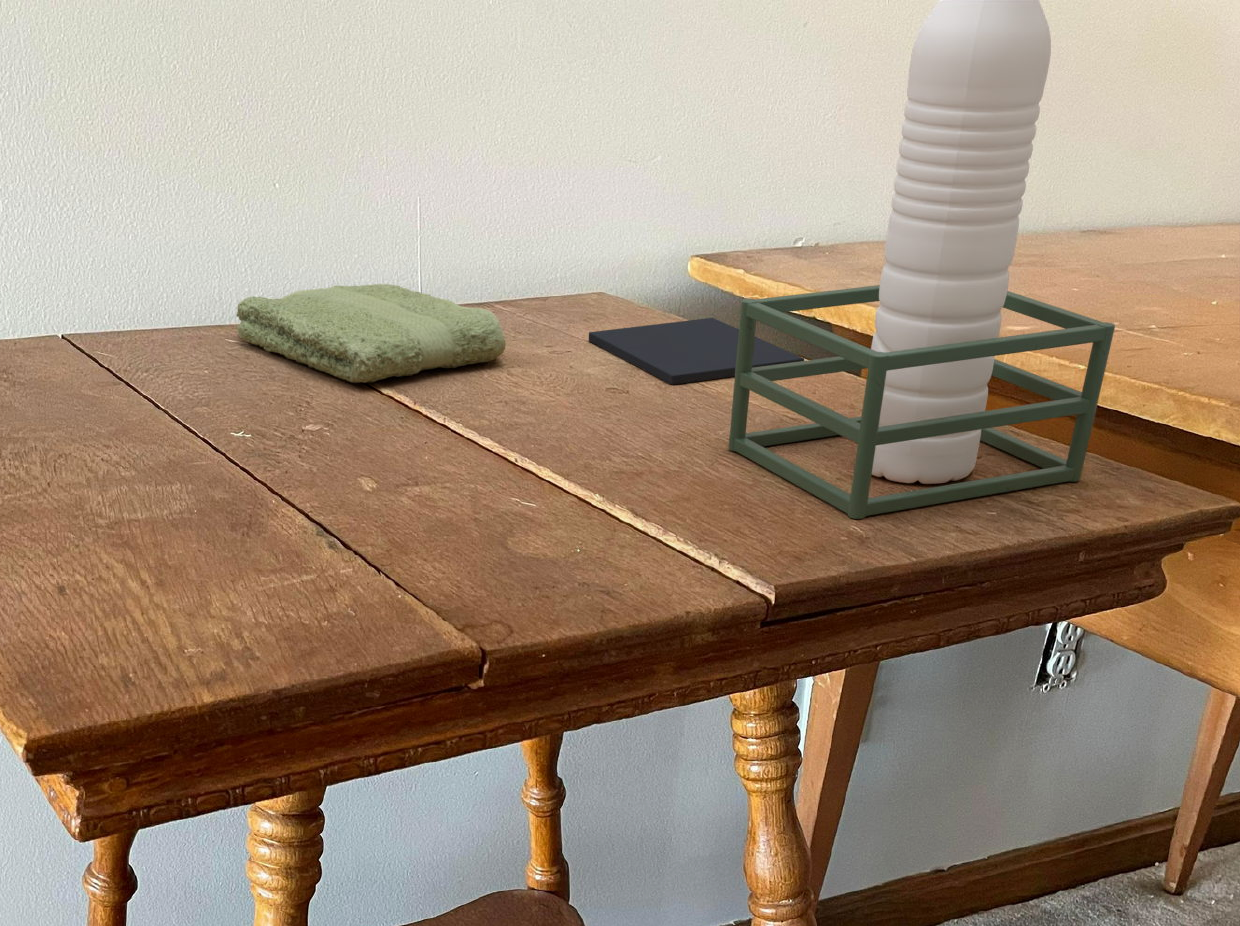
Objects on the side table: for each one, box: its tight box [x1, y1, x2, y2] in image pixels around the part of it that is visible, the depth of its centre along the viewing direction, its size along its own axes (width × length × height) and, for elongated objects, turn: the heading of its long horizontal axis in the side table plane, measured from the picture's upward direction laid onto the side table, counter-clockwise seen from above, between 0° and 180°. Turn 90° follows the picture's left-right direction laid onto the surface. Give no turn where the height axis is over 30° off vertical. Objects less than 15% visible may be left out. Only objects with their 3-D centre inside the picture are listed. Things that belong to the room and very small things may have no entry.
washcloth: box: [235, 283, 507, 384], centre depth 104 cm, size 13×18×3 cm
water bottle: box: [870, 0, 1052, 485], centre depth 79 cm, size 9×6×25 cm
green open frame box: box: [728, 284, 1116, 520], centre depth 83 cm, size 13×15×8 cm
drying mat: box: [588, 317, 805, 386], centre depth 104 cm, size 12×10×1 cm
